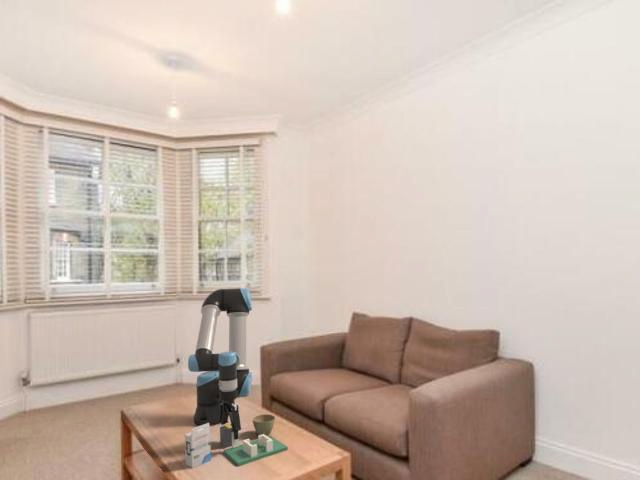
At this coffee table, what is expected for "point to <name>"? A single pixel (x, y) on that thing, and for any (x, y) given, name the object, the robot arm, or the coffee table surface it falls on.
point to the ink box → (197, 446)
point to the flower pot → (264, 424)
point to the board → (254, 450)
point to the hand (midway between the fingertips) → (230, 443)
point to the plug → (226, 436)
